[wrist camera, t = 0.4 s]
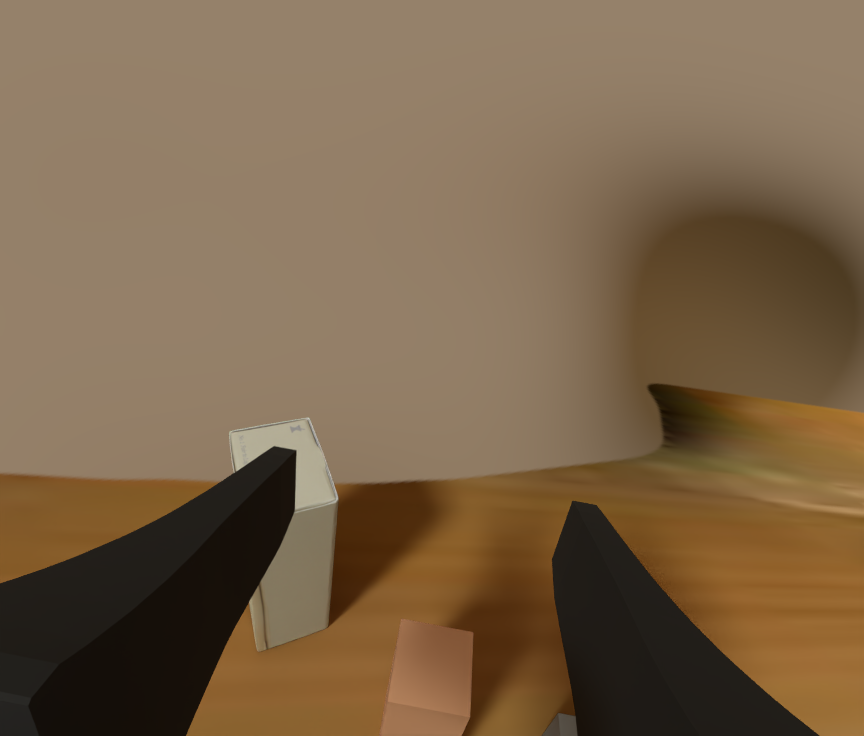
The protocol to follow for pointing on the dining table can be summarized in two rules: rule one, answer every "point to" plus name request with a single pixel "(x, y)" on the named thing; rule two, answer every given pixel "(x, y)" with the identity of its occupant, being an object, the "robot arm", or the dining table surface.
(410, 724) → the rust peg
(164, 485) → the dining table surface
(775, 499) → the dining table surface
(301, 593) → the skincare box
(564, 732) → the grey flat block
